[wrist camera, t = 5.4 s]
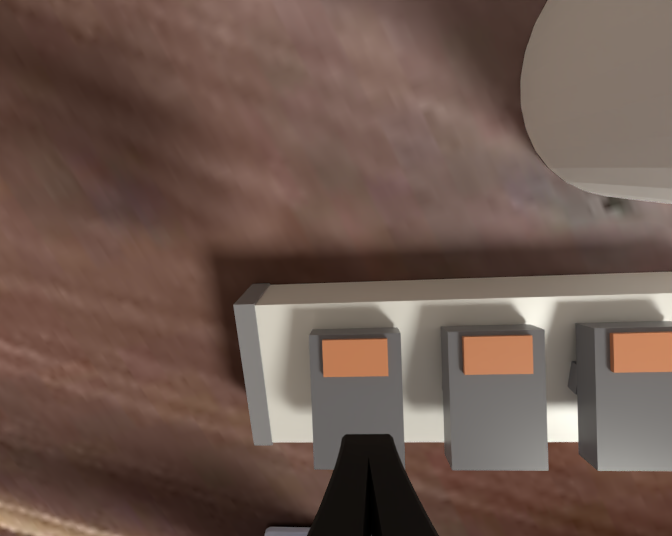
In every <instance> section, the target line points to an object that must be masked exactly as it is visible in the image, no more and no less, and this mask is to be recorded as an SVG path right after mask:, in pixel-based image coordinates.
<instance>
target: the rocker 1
mask: <svg viewBox="0 0 672 536" xmlns="http://www.w3.org/2000/svg"><path fill="white" fill-rule="evenodd" d="M309 351H310V377H311V402H312V427H313V452H314V469H334V467H335V464H336V461H337V458H338V454H339V450H340V446H341V440H342V437H343V436H344V435H345V434H390V435H391V436H392V437H393V439H394V443H395V446H396V449H397V452H398V454H399V457H400V459H401V462H402V464H403V467H404V469H405V449H404V419H403V389H402V359H401V333H400V331H399V329H398V328H397V327H390V328H349V329H312V331H311V333H310V334H309Z"/></svg>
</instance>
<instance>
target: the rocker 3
mask: <svg viewBox="0 0 672 536" xmlns="http://www.w3.org/2000/svg"><path fill="white" fill-rule="evenodd" d="M575 326H576V365H577V405H578V444H579V455H580V456H581V457H583V458H584V459H585V460H586V461H587V462H588V463H590V464H591V465H592V466H593V467H594V468H595V469H596V470H598V471H672V321H640V322H599V323H575Z"/></svg>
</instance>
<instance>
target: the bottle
mask: <svg viewBox="0 0 672 536" xmlns="http://www.w3.org/2000/svg"><path fill="white" fill-rule="evenodd" d="M520 92H521V110H522V114H523V119H524V124H525V128H526V131H527V133H528V136H529V138H530V140H531V142H532V145H533V147H534V149H535V151H536V152H537V154H538V155H539V156H540V158H541V159H542V160H543V161H544V163H545V164H546V165H547V167H548V168H549V169H550V170H551V171H553V172H554V173H555V174H556V175H558V176H559V177H560V178H561V179H562V180H564V181H565V182H567V183H569V184H571V185H573V186H575V187H577V188H579V189H581V190H583V191H586V192H590V193H594V194H598V195H602V196H608V197H616V198H625V199H633V200H642V201H650V202H659V203H667V204H672V0H547V2H546V4H545V6H544V8H543V10H542V11H541V13H540V15H539V17H538V19H537V21H536V23H535V25H534V27H533V30H532V33H531V36H530V39H529V42H528V45H527V48H526V51H525V55H524V61H523V67H522V73H521V79H520Z"/></svg>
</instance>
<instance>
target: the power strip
mask: <svg viewBox="0 0 672 536" xmlns="http://www.w3.org/2000/svg"><path fill="white" fill-rule="evenodd" d="M233 306H234V313H235V320H236V326H237V333H238V340H239V347H240V353H241V360H242V367H243V374H244V380H245V387H246V394H247V401H248V407H249V414H250V421H251V427H252V434H253V441H254V445H273V442H313V427H312V402H311V377H310V351H309V334H310V333H311V331H312V329H349V328H390V327H397V328H398V329H399V331H400V333H401V359H402V389H403V419H404V442H444V415H443V384H442V353H441V326H474V325H515V324H531V325H533V326H536V327H539V328H542V329H544V330H545V364H546V401H547V438H548V442H578V405H577V365H576V326H575V323H599V322H640V321H672V271H671V272H641V273H611V274H581V275H551V276H521V277H490V278H460V279H430V280H400V281H370V282H340V283H310V284H280V285H270V283H259V284H252V285H251V286H250V287H249V288H248V289H247V290H246V291H245V293H244V294H243V295H242V296H241V297H240V298H239V299H238V300H237V301H236V302H235V303H234V305H233Z"/></svg>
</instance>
